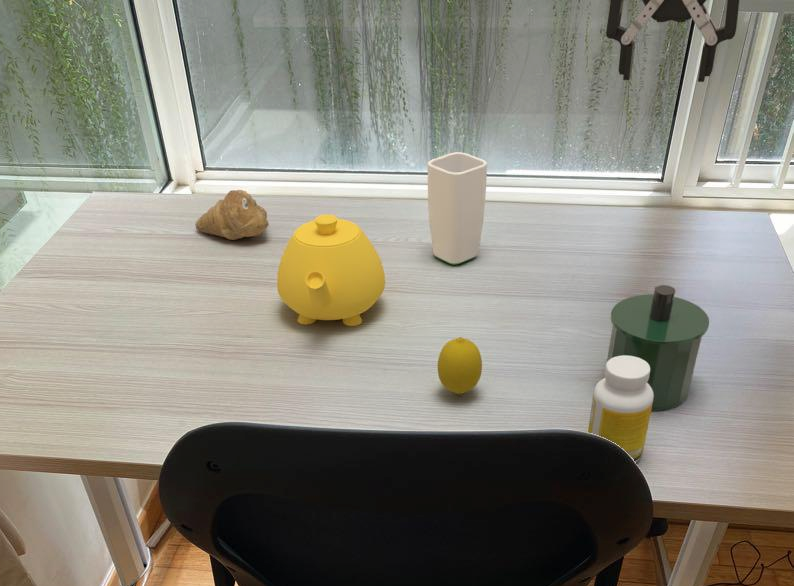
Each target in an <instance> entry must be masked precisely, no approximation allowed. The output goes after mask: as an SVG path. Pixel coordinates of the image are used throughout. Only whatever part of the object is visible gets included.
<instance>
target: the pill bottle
mask: <svg viewBox="0 0 794 586" xmlns="http://www.w3.org/2000/svg"><path fill="white" fill-rule="evenodd" d="M603 375H604V377H605V378H604V377H603V378H602V379H600V380H599V381H598V382H597V383H596V384H595V386H594V389H593V393H592V400H591V405H590V406H591V407H590V414H589V421H588V428H587V433H588V432H589V433H593V434H596V435H599V436H601V437H604V438H606V439H608V440H610V441H612V442H614V443H616V444H617V445H619V446H620V447H621V448H623V449H624V450H625V451H626V452H627V453H628V454H629V455H630V456H631V457H632V458H633V459H634V461H635V462H636V463H638V462H639V460H640V459H641V457H642V455H643V452H644V447H645V443H646V439H647V433H648V429H649V424H650V418H651V413H652V411H651V409H652V404H653V398H654V395H653V390H652V388H651V387H650V385H649V384H648V383H647V382H648V380H649V375H650V366H649V364H648V363H647V362H646V361H644V360H643V359H641V358H638V357H634V356H626V355H623V356H616V357H613V358H611V359H610V360H609V361H608V362H607V361H606V363H605V368H604V372H603Z"/></svg>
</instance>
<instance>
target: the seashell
mask: <svg viewBox="0 0 794 586" xmlns="http://www.w3.org/2000/svg"><path fill="white" fill-rule="evenodd" d="M269 225H270V223H269V221H268V212H267V211H266V209H265V208H264V207H263V206H260V205H258V203H257V201H256V200H255V199H254V198H253V197H252V195H251V194H250V193H248V192H247V191H246V190H243V189H237V190H236V189H235V190H234V189H233V190H229V192H227V194H226V195H225V196H224V199H219V200H218V201H216V204H215V205H214V206H211V207H210V208H209V209H208V210H207V211H206V212H205V213H204V214H201V216H200V217H199V218H198V219H197V220H196V221H195V230H197V231H199V232H202V233H204V234H210V235H212V236H218V237H221V238H226V239H228V240H233V241H236V240H239V239H242V238H244V237H247V238H250V237H256V236H259V235H260V234H262V232H264V231H265V230H266V229H267V228H268V227H269Z"/></svg>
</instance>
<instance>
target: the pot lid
mask: <svg viewBox="0 0 794 586" xmlns="http://www.w3.org/2000/svg"><path fill="white" fill-rule="evenodd" d="M676 292H677V290H676V288H675V287H673V286H670V285H667V284H662V285H661V284H660V285H657V286H655V287H654V289H653V294H652V293H651V294H649V293H648V294H639V295H634V296H633V295H632V296H630V297H626V298H625V299H622V300H620V301H619V302H617V303H616V304H614V306H613V308H612V309H611V312H610V322H611V324H612V327H613V326H614V327H615V328H616V329H617V330H618V331H619V332H621V333H622V334H624V335H626V336H627V337H630V338H632V339H635V340H637V341H641V342H645V343H650V344H657V345H678V344H684V343H689V342H692V341H694V340H697V339H699V338H700V337H702V338H703V336H704V335H705V334H706V333H707V332H708V329H709V327H710V318H709V315H708V313H706V311H705V310H704V309H702V308H701V307H700V306H699V305H697V304H695V303H693V302H692V301H689V300H687V299H684V298H681V297H677V296H675V295H676Z"/></svg>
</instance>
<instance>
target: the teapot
mask: <svg viewBox="0 0 794 586" xmlns="http://www.w3.org/2000/svg"><path fill="white" fill-rule="evenodd" d="M276 278H277V280H276V287H277V293H278V296H279V297H280V299H281V300H282V302H283V303H284V304H285V305H286V306H287V307H288V308H290V309H291V310H292V311H294V312H295V313H296V314H298V318H297V320H296V321H297V323H298V324H300V325H311V324H314V323H316V321H317V320H320V321H336V320H342V323H343V325H345V326H348V327H354V326H355V327H356V326H359V325H360V324H362V322H363V320H362V317H361V314H362V313H364V312H366V311H368V310H369V309H370V308H371V307H372V306H373V305H374V304H375V303H376V302H377V301H378V300H379V299H380V297H382V294H383V293H384V290H385V287H386V275H385V271H384V266H383V262H382V260H381V258H380V256H379V254H378V251H377V249H376V248H375V246H374V245H373V243H372V242H371V240H370V239H369V237H368V236H367V235H366V234H365V232H364V231H363V230H362V228H361V227H360V226H358V225H357V224H356V223H354V222H352V221H350V220H347V219H342V218H338V217H337V216H336V215H334V214H326V213H325V214H320V215H318V216H316V217H315V218H314V220H311V221H308V222H305V223H303V224H301V225H299V226H298V228H296V229H295V231H294V232H293V233H292V234H291V237H290V238H289V240H288V242H287V244H286V246H285V249H284V251H283V253H282V255H281V258H280V261H279V263H278V269H277V277H276Z"/></svg>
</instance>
